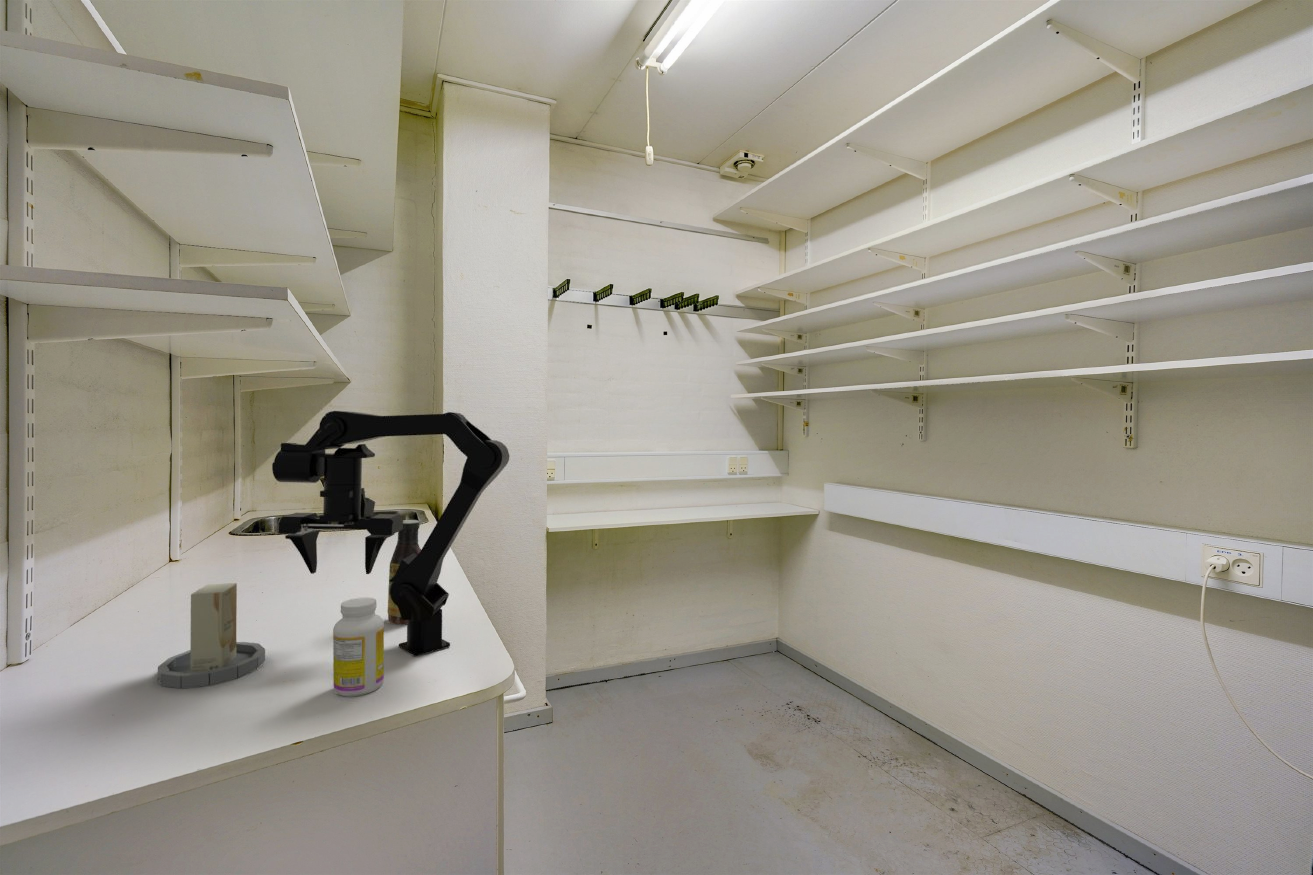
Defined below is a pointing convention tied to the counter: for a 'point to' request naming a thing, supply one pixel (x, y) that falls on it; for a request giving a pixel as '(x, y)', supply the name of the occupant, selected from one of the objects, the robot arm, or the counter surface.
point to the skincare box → (213, 627)
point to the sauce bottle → (403, 549)
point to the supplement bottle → (358, 648)
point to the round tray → (179, 675)
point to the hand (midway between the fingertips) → (341, 573)
